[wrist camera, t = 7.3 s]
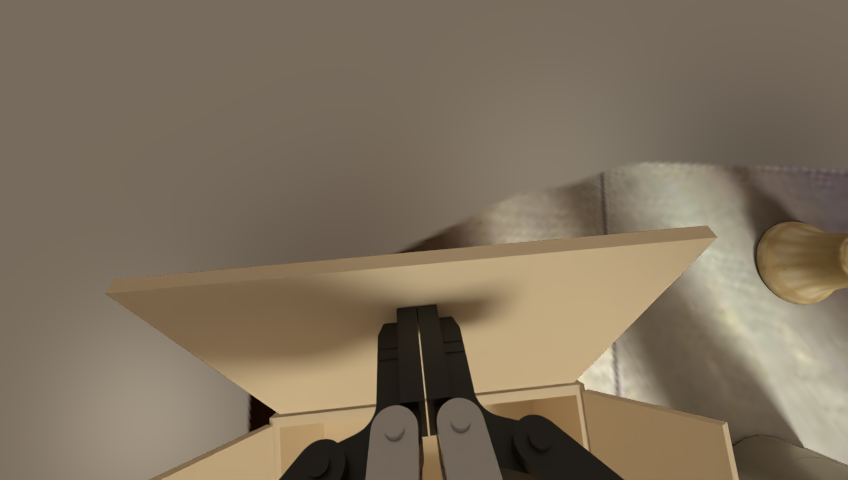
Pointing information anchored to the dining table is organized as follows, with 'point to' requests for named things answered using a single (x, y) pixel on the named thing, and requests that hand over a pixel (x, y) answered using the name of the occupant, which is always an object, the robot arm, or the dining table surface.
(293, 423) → the carton
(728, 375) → the dining table surface
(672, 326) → the dining table surface
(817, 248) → the hand bell
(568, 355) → the front flap
